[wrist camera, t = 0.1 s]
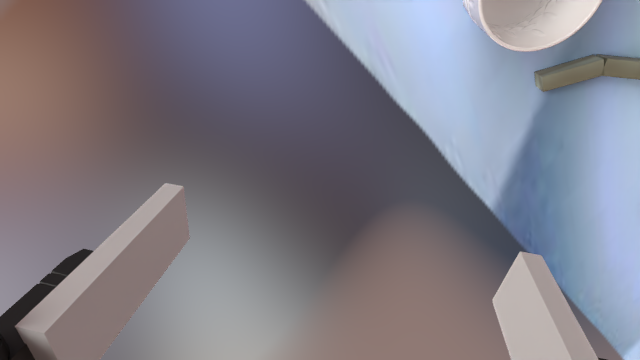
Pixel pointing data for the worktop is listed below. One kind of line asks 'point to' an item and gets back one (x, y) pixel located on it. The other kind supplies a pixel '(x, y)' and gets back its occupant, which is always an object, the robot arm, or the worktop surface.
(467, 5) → the white cup
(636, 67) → the wooden slatted bench
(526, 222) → the worktop surface
